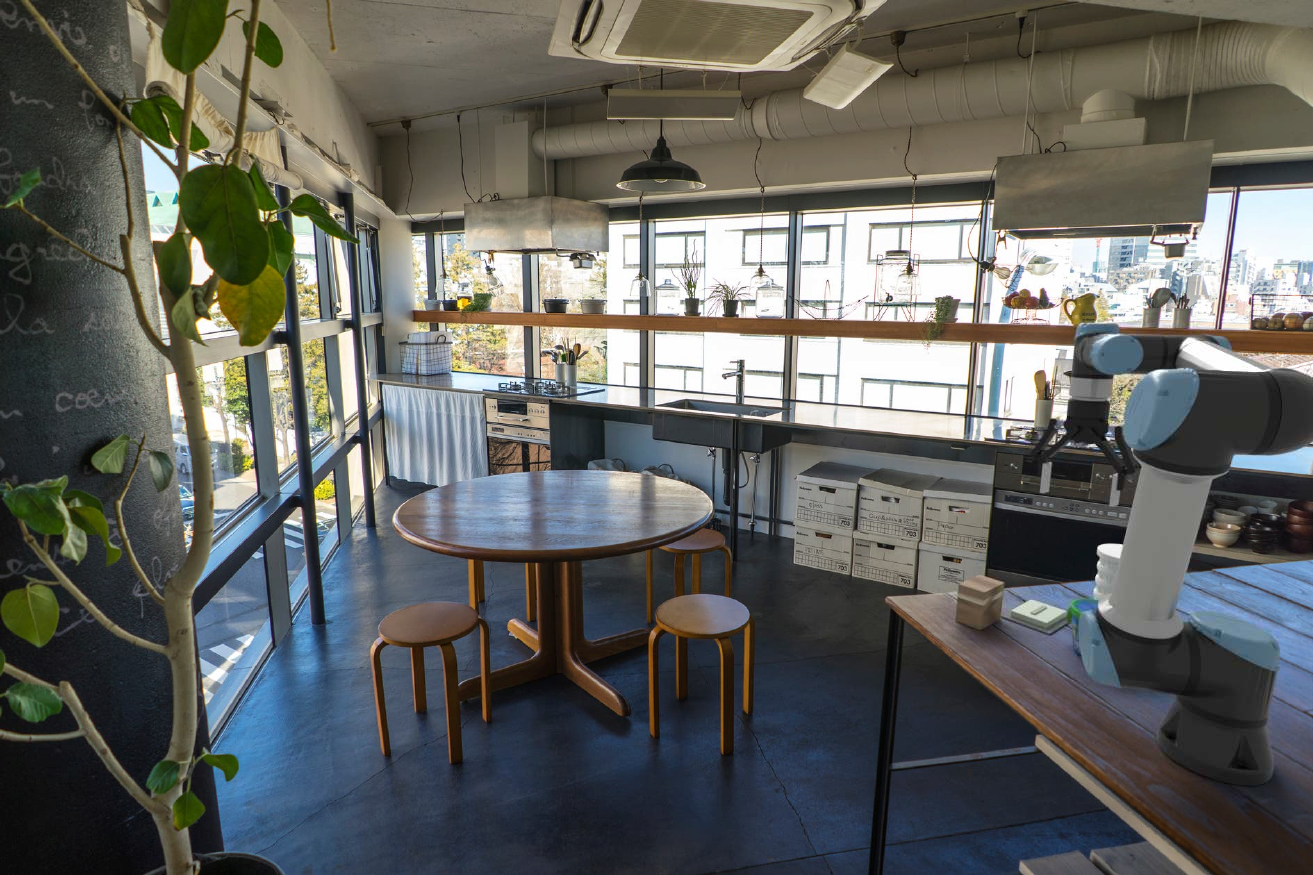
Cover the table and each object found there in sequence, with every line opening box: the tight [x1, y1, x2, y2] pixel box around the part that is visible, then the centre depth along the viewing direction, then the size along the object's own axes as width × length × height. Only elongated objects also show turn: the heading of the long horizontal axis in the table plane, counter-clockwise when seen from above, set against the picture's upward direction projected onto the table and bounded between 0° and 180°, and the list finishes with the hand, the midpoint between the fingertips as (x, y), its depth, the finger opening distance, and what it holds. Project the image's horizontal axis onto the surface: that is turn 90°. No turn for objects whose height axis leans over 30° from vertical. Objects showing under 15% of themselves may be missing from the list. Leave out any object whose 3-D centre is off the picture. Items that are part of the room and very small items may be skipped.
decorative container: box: [1093, 543, 1123, 600], centre depth 160 cm, size 12×12×18 cm
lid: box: [1010, 599, 1067, 629], centre depth 166 cm, size 10×8×2 cm
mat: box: [1001, 600, 1069, 636], centre depth 167 cm, size 13×11×1 cm
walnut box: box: [954, 574, 1005, 631], centre depth 165 cm, size 9×6×9 cm
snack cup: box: [1066, 598, 1099, 655], centre depth 149 cm, size 16×10×10 cm
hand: (1077, 498), depth 151 cm, fingers open, 13 cm apart
